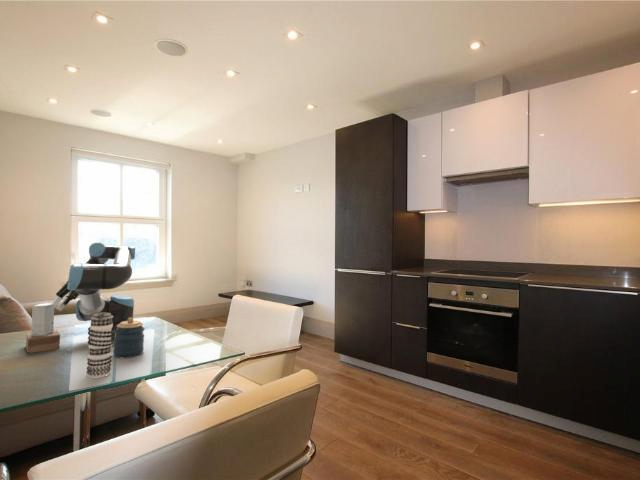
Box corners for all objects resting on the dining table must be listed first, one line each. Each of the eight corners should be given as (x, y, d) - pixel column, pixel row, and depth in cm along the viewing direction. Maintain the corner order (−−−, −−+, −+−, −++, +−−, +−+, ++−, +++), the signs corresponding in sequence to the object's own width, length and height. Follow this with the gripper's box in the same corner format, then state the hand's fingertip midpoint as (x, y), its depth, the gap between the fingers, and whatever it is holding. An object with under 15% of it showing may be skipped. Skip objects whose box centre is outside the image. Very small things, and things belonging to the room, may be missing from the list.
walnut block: (59, 349, 168) (60, 334, 169) (27, 353, 160) (28, 338, 160) (56, 343, 177) (56, 329, 177) (25, 347, 169) (26, 333, 169)
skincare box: (44, 336, 165) (45, 305, 165) (29, 336, 164) (31, 305, 164) (53, 331, 173) (55, 302, 174) (40, 331, 172) (41, 302, 172)
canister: (138, 348, 174) (140, 313, 175) (147, 354, 165) (149, 318, 165) (109, 353, 165) (111, 316, 165) (117, 360, 156) (119, 321, 156)
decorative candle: (88, 371, 142) (91, 311, 142) (113, 369, 145) (117, 310, 146) (82, 379, 133) (85, 316, 134) (109, 377, 137) (112, 315, 137)
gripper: (102, 278, 188) (71, 315, 173) (80, 275, 195) (48, 310, 180) (93, 270, 183) (60, 307, 168) (70, 267, 189) (37, 302, 175)
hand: (54, 308), depth 174 cm, fingers open, 6 cm apart
